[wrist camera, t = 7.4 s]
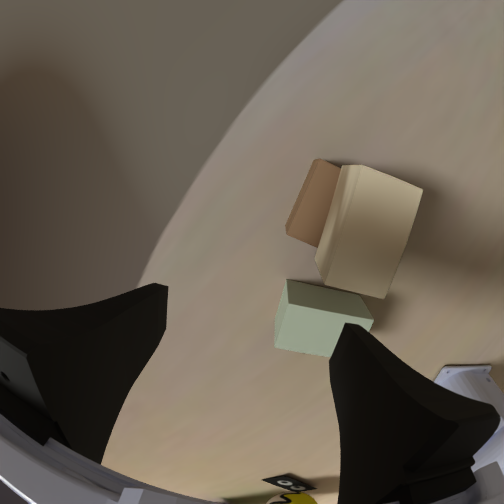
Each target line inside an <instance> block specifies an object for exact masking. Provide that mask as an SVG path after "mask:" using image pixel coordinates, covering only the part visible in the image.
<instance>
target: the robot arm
mask: <svg viewBox="0 0 504 504" xmlns="http://www.w3.org/2000/svg"><path fill="white" fill-rule="evenodd" d="M167 300H168V286H165V285H161V284H157V283H152V284H148V285H145V286H143V287H140V288H137V289H134V290H132V291H129V292H126V293H124V294H121V295H118V296H115V297H112V298H109V299H106V300H102V301H99V302H96V303H92V304H88V305H83V306H78V307H73V308H64V309H56V310H42V311H41V310H39V311H34V310H30V311H28V310H14V309H4V308H0V480H1V481H2V482H3V483H5V484H6V485H7V486H8V487H9V488H10V489H12V490H13V491H14V492H15V493H16V494H18V495H19V496H20V497H22V498H23V499H24V500H26V501H27V502H28V503H29V504H222V503H217V502H212V501H207V500H202V499H198V498H193V497H189V496H185V495H182V494H178V493H174V492H171V491H167V490H164V489H161V488H158V487H155V486H152V485H149V484H146V483H143V482H140V481H138V480H135V479H132V478H130V477H127V476H125V475H122V474H120V473H118V472H115V471H113V470H111V469H108V468H106V467H104V466H102V465H101V462H102V459H103V455H104V452H105V449H106V446H107V443H108V440H109V438H110V435H111V432H112V429H113V427H114V424H115V422H116V420H117V417H118V415H119V412H120V410H121V408H122V406H123V403H124V401H125V399H126V397H127V395H128V393H129V391H130V389H131V387H132V386H133V384H134V382H135V381H136V379H137V378H138V376H139V375H140V373H141V371H142V370H143V368H144V367H145V365H146V364H147V362H148V361H149V359H150V358H151V356H152V355H153V353H154V352H155V350H156V348H157V347H158V345H159V343H160V341H161V339H162V336H163V334H164V332H165V330H166V319H167ZM491 368H492V367H491V366H490V365H482V366H445V367H443V368H442V370H441V371H440V373H439V374H438V376H437V378H436V379H435V381H434V382H433V381H431V380H429V379H427V378H426V377H424V376H423V375H421V374H420V373H418V372H417V371H415V370H414V369H412V368H411V367H410V366H408V365H407V364H406V363H404V362H403V361H402V360H401V359H399V358H398V357H397V356H396V355H394V354H393V353H392V352H391V351H390V350H388V349H387V348H386V347H385V346H384V345H383V344H382V343H381V342H379V341H378V340H377V339H376V338H375V337H374V336H373V335H372V334H370V333H369V332H368V331H367V330H366V329H364V328H363V327H362V326H360V325H359V324H353V323H346V322H345V324H344V327H343V329H342V332H341V334H340V337H339V339H338V341H337V344H336V346H335V349H334V351H333V353H332V356H331V358H330V360H329V370H330V383H331V388H332V393H333V398H334V403H335V408H336V413H337V418H338V423H339V431H340V449H341V466H340V485H339V496H338V504H504V394H503V392H502V391H501V390H500V388H499V387H498V386H497V384H496V383H495V382H494V380H493V379H492V378H491V376H490V375H489V372H490V370H491Z"/></svg>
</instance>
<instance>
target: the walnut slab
mask: <svg viewBox="0 0 504 504" xmlns="http://www.w3.org/2000/svg"><path fill="white" fill-rule="evenodd" d="M340 171H341V168H339V167H337V166H334V165H332V164H330V163H328V162H326V161H324V160H322V159H316V160H314V161H313V163H312V165H311V168H310V170H309V172H308V175H307V177H306V179H305V182H304V184H303V186H302V189H301V191H300V193H299V195H298V198H297V200H296V202H295V205H294V207H293V209H292V212H291V214H290V216H289V218H288V221H287V223H286V225H285V227H286V233H287V235H289V236H291V237H294V238H296V239H298V240H301V241H303V242H305V243H308V244H310V245H312V246H314V247H317V248H318V246H319V243H320V240H321V236H322V233H323V230H324V227H325V224H326V220H327V217H328V214H329V210H330V207H331V203H332V200H333V197H334V193H335V190H336V186H337V182H338V179H339V175H340Z"/></svg>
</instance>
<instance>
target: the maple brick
mask: <svg viewBox="0 0 504 504" xmlns="http://www.w3.org/2000/svg"><path fill="white" fill-rule="evenodd" d="M422 192H423V189H421V188H418V187H416V186H414V185H412V184H409V183H407V182H405V181H402V180H400V179H397V178H395V177H392V176H390V175H387V174H385V173H382V172H380V171H377V170H374V169H372V168H369V167H366V166H364V165H342V168H341V171H340V175H339V179H338V182H337V186H336V190H335V193H334V197H333V200H332V203H331V207H330V210H329V214H328V217H327V220H326V224H325V227H324V230H323V233H322V236H321V240H320V243H319V246H318V249H317V252H316V255H315V258H314V259H315V262H316V264H317V267H318V269H319V272H320V275H321V277H322V280H323V282H324V285H328V286H332V287H336V288H340V289H344V290H348V291H352V292H356V293H360V294H364V295H368V296H372V297H376V298H380V299H385V297H386V294H387V292H388V290H389V287H390V285H391V282H392V280H393V278H394V275H395V273H396V270H397V268H398V265H399V262H400V260H401V257H402V254H403V252H404V249H405V246H406V243H407V240H408V238H409V235H410V232H411V229H412V226H413V223H414V219H415V216H416V213H417V210H418V206H419V203H420V199H421V196H422Z"/></svg>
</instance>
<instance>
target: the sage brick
mask: <svg viewBox="0 0 504 504" xmlns="http://www.w3.org/2000/svg"><path fill="white" fill-rule="evenodd" d="M345 322H346V323H353V324H359V325H360V326H362V327H363V328H364V329H366V330H367V331H368V332H369V330H370V328H371V326H372V324H373V322H374V319H373V317H372V315H371V314H370V312H369V310H368V308H367V307H366V305H365V303H364V302H363V300H362V298H361V297H360V295H357V294H352V293H347V292H343V291H338V290H333V289H329V288H324V287H319V286H315V285H310V284H306V283H301V282H297V281H292V280H288V279H286V283H285V286H284V290H283V293H282V297H281V300H280V303H279V307H278V310H277V314H276V317H275V340H274V348H279V349H284V350H290V351H295V352H301V353H307V354H313V355H319V356H325V357H331V356H332V353H333V351H334V349H335V346H336V344H337V341H338V339H339V337H340V334H341V332H342V329H343V327H344V324H345Z"/></svg>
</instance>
